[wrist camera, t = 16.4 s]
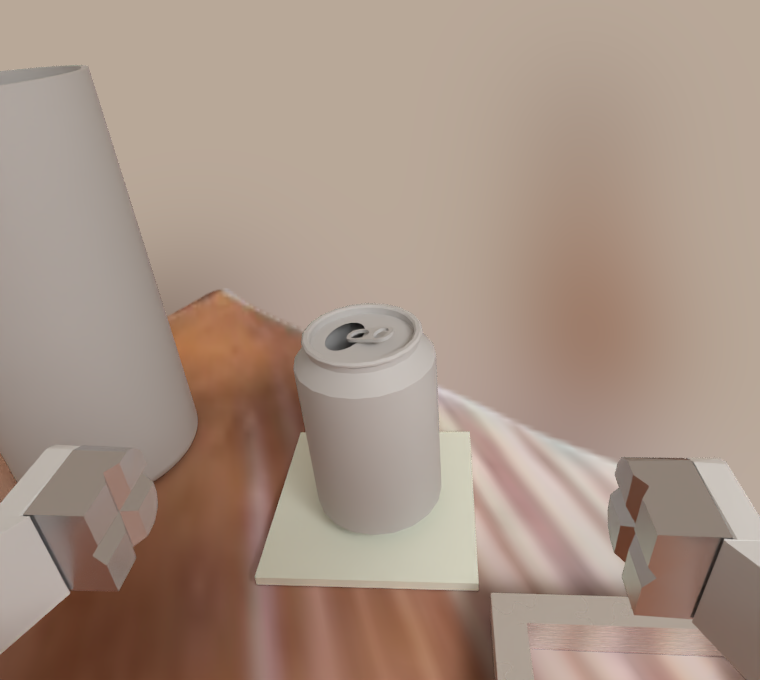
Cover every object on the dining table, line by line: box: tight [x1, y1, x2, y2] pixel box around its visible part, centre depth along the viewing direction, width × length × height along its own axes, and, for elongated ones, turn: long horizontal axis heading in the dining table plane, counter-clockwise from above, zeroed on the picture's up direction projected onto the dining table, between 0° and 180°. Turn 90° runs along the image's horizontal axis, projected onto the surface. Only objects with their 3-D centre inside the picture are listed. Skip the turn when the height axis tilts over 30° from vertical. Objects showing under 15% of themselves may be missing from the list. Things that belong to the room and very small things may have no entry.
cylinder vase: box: [0, 65, 198, 483], centre depth 36 cm, size 12×12×25 cm
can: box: [294, 303, 441, 535], centre depth 33 cm, size 8×8×12 cm
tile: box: [254, 432, 479, 591], centre depth 36 cm, size 12×12×1 cm
